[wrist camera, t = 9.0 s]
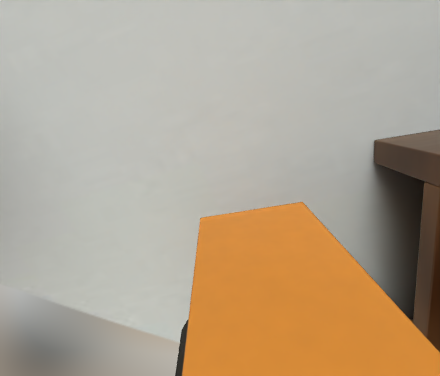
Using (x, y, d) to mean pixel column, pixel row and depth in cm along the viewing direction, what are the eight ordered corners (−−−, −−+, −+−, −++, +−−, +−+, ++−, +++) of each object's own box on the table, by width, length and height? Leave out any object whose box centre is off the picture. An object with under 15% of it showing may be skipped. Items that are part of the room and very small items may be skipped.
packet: (200, 217, 12) (175, 421, 4) (302, 201, 12) (469, 381, 4) (230, 366, 15) (247, 655, 7) (313, 354, 14) (425, 636, 7)
